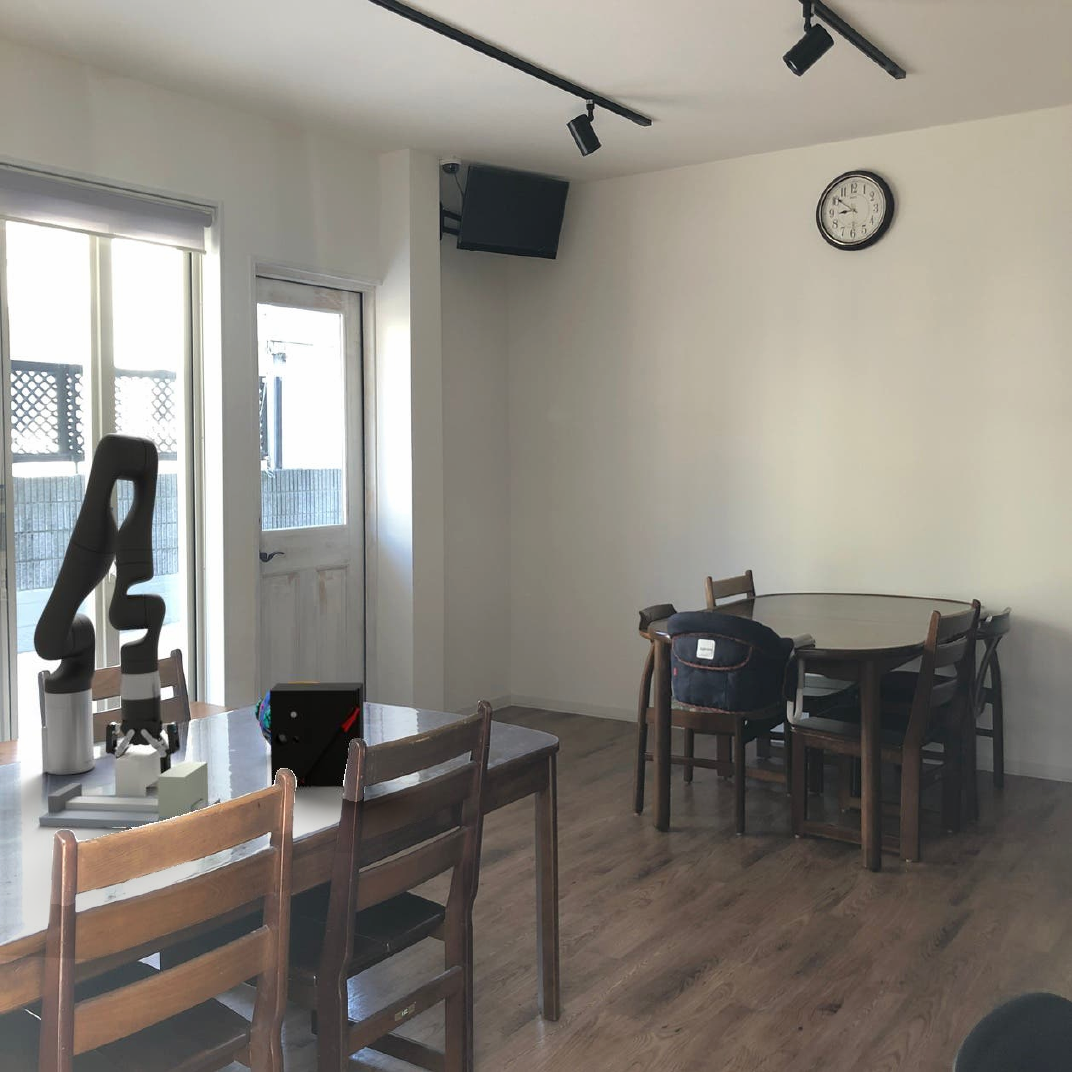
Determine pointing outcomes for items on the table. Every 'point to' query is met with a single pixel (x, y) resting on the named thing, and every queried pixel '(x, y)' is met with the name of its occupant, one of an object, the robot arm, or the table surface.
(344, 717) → the electrical component
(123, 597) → the robot arm
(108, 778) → the table surface
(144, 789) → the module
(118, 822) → the mounting plate
